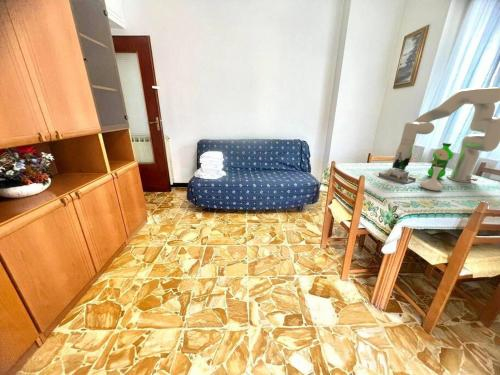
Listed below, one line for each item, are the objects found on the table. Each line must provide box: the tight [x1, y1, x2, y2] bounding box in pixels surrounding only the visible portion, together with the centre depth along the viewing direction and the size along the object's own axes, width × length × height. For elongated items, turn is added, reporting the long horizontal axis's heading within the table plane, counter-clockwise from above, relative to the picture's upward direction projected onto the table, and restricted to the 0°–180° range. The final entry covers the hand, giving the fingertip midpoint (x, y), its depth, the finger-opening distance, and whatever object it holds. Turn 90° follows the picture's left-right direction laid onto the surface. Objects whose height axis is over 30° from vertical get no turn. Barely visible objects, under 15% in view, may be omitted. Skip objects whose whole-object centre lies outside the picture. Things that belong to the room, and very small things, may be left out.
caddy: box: [378, 170, 417, 185], centre depth 146 cm, size 18×13×4 cm
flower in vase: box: [419, 148, 449, 191], centre depth 126 cm, size 13×11×25 cm
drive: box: [388, 167, 410, 180], centre depth 146 cm, size 10×6×6 cm, turn 26°
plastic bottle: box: [427, 142, 454, 179], centre depth 147 cm, size 10×10×25 cm
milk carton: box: [391, 148, 407, 171], centre depth 161 cm, size 9×9×20 cm
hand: (400, 166), depth 144 cm, fingers open, 9 cm apart
